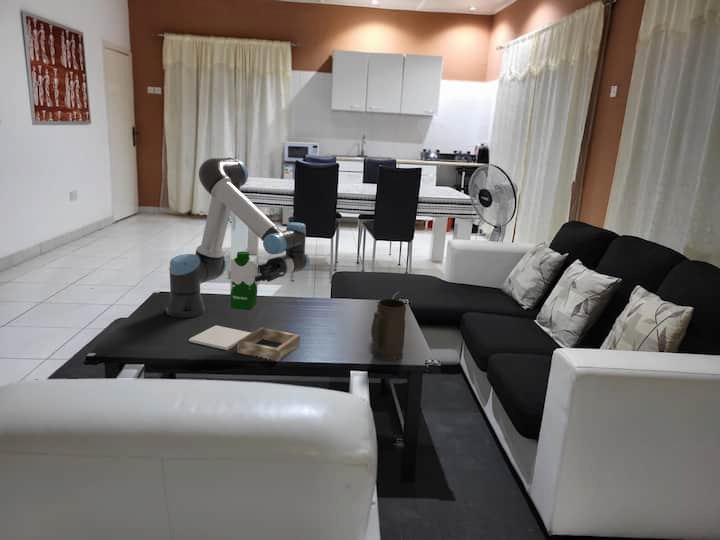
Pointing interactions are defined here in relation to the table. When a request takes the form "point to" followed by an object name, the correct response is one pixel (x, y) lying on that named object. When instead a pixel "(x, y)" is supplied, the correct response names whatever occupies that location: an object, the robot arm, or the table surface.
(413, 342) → the table surface
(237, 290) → the soya milk
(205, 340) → the tile
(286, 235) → the robot arm
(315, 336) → the table surface
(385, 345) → the beer stein
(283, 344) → the wooden square tray
